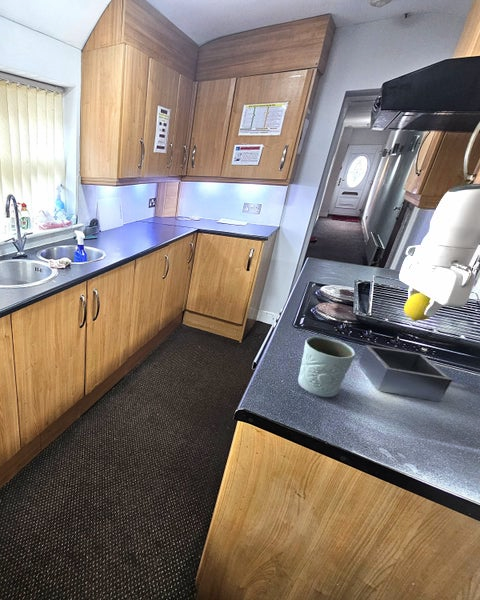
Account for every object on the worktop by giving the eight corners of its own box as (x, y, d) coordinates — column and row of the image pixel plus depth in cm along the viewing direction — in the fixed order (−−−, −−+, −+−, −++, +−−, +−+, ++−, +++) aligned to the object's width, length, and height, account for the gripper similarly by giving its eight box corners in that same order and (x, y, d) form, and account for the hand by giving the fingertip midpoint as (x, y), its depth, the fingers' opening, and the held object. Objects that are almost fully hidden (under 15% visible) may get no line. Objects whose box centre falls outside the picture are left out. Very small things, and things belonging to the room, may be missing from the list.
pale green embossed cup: (320, 402, 79) (335, 361, 74) (284, 378, 88) (296, 339, 83) (350, 393, 82) (366, 353, 77) (312, 370, 91) (324, 333, 86)
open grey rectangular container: (411, 373, 91) (421, 353, 89) (440, 402, 80) (452, 379, 78) (357, 364, 95) (365, 344, 92) (377, 390, 84) (387, 368, 81)
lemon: (428, 320, 83) (442, 291, 80) (429, 328, 80) (443, 298, 76) (399, 314, 87) (411, 286, 84) (398, 321, 83) (411, 292, 80)
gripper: (495, 269, 67) (464, 329, 72) (434, 248, 85) (412, 297, 90) (455, 266, 69) (428, 325, 74) (403, 246, 86) (384, 294, 92)
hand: (419, 309), depth 82 cm, fingers closed on lemon, 5 cm apart
